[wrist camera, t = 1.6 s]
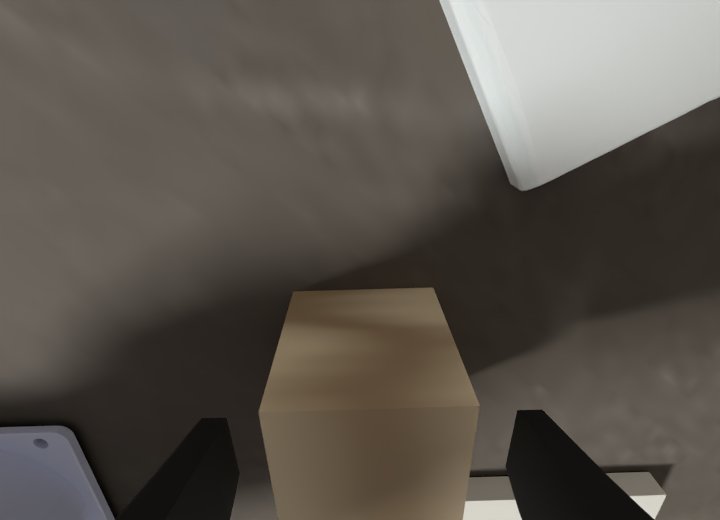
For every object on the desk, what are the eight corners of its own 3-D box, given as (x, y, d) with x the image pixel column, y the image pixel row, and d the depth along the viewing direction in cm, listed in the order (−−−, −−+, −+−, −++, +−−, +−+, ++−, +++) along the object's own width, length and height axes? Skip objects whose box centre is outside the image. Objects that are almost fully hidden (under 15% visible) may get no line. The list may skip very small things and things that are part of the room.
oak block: (305, 395, 14) (282, 543, 10) (293, 290, 12) (258, 412, 8) (425, 392, 14) (460, 538, 10) (432, 286, 12) (479, 405, 8)
